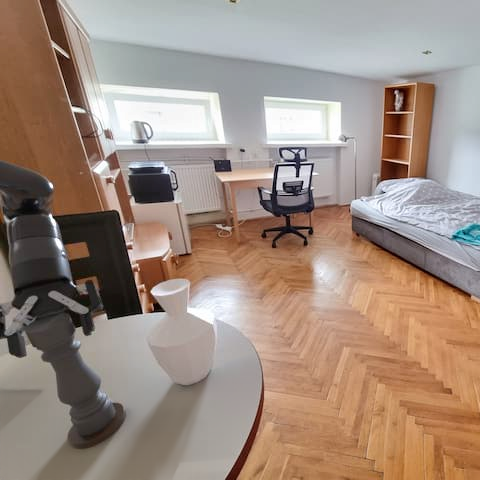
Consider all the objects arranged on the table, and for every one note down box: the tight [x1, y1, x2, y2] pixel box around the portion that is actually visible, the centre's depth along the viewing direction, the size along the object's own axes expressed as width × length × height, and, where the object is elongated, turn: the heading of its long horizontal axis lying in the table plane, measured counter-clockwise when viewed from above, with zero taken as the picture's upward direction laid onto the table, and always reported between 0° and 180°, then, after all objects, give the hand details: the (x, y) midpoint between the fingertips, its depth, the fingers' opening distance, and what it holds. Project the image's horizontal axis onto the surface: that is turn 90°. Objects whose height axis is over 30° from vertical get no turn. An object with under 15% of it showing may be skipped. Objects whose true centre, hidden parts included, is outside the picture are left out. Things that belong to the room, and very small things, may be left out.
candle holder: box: [24, 312, 116, 436], centre depth 55 cm, size 6×6×25 cm
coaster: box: [67, 401, 127, 450], centre depth 60 cm, size 9×9×2 cm
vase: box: [145, 278, 218, 386], centre depth 69 cm, size 14×14×25 cm
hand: (56, 345), depth 51 cm, fingers open, 8 cm apart
